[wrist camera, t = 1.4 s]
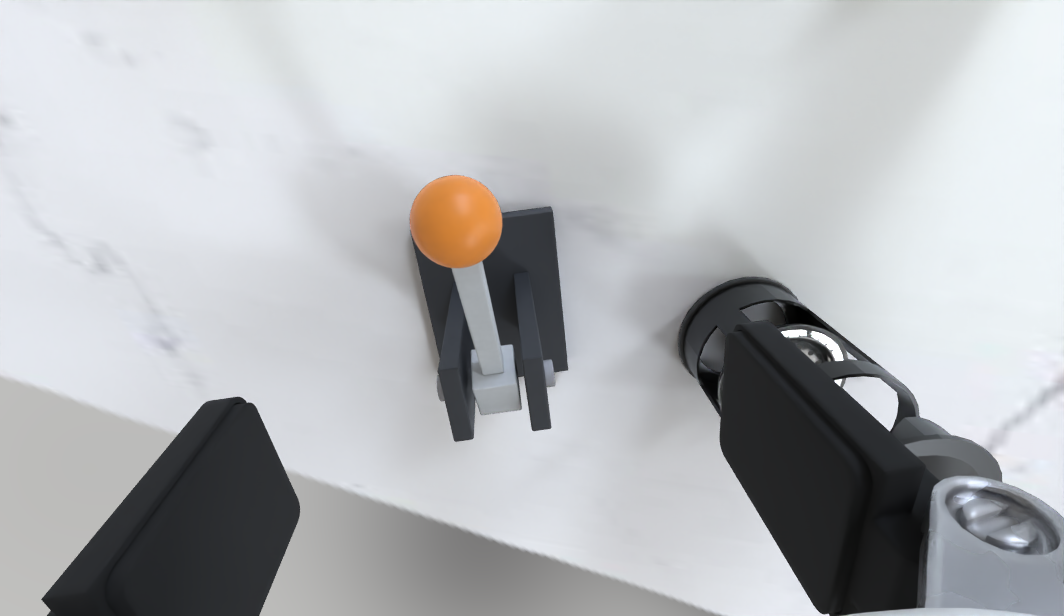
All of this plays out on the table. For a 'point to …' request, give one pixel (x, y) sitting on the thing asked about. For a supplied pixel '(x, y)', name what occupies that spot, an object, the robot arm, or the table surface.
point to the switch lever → (469, 276)
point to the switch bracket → (502, 317)
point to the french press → (830, 355)
